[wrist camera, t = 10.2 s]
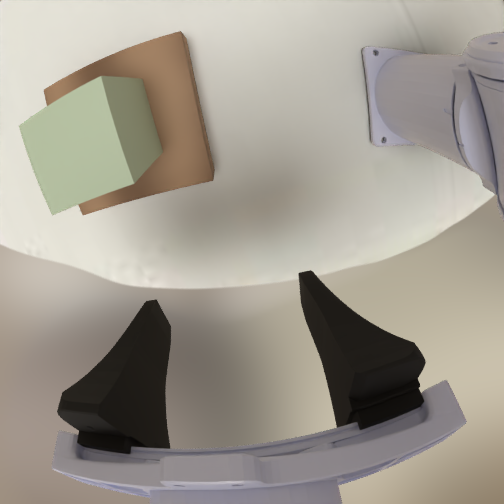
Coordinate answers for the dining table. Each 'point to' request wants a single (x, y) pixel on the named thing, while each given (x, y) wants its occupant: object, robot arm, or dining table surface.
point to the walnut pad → (155, 115)
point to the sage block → (92, 141)
